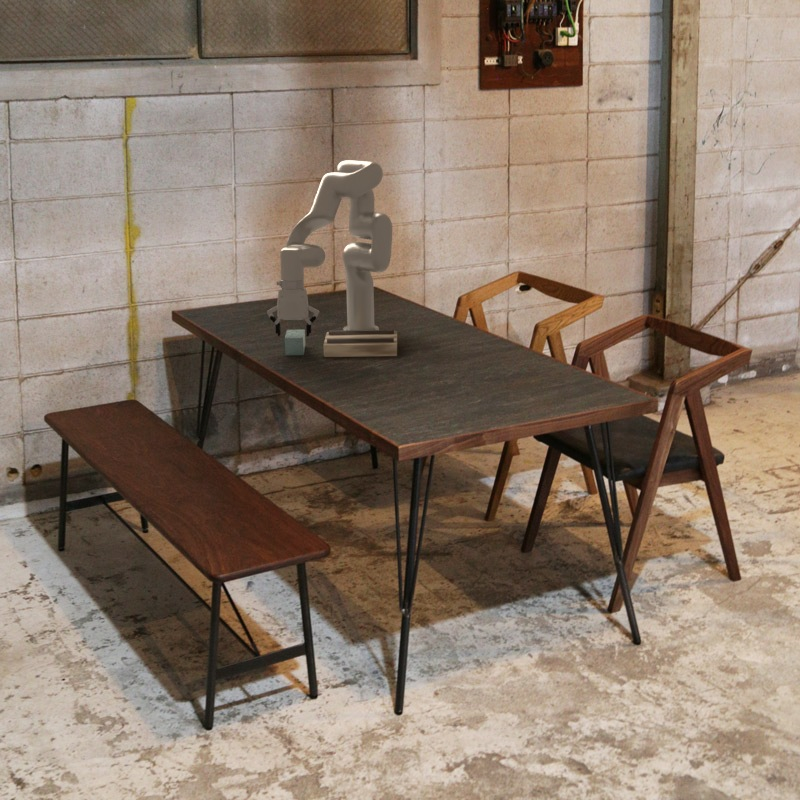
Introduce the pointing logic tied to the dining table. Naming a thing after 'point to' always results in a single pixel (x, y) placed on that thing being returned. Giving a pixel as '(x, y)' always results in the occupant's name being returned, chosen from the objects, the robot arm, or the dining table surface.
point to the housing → (295, 342)
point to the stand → (360, 343)
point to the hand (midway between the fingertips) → (293, 335)
